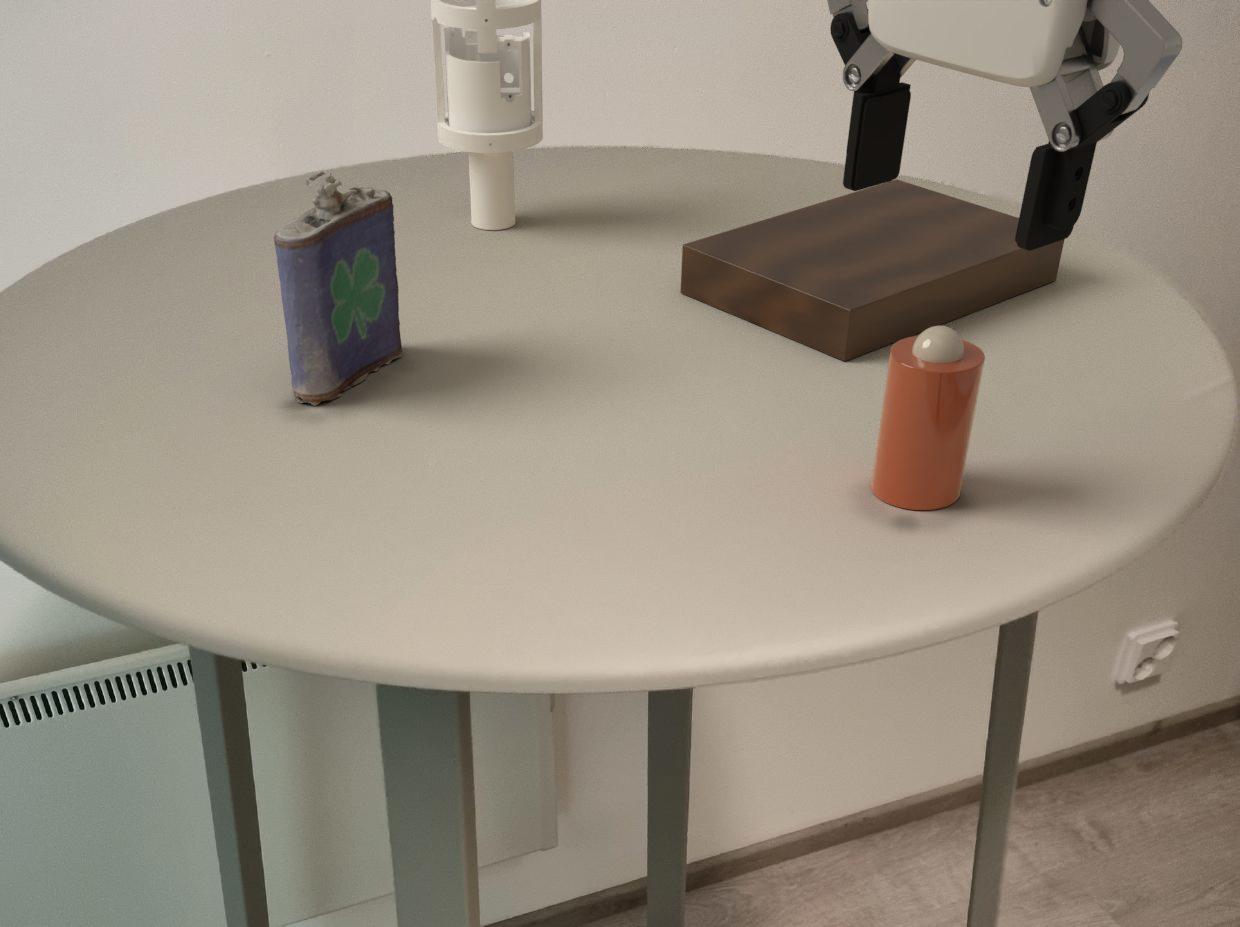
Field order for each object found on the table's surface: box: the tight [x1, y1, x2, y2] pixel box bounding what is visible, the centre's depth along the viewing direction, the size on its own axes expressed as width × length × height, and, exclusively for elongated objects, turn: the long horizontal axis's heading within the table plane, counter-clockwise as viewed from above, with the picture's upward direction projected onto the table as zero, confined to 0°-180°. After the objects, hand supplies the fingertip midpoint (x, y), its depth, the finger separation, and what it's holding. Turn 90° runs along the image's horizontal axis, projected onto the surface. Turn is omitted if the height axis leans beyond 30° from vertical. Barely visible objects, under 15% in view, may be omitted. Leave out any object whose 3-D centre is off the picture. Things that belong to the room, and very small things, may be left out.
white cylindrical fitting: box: [429, 0, 544, 231], centre depth 100 cm, size 7×7×15 cm
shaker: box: [870, 325, 986, 511], centre depth 73 cm, size 4×4×8 cm
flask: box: [273, 170, 403, 406], centre depth 82 cm, size 9×3×11 cm, turn 151°
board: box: [680, 178, 1066, 362], centre depth 95 cm, size 14×20×3 cm
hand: (952, 212), depth 67 cm, fingers open, 9 cm apart
